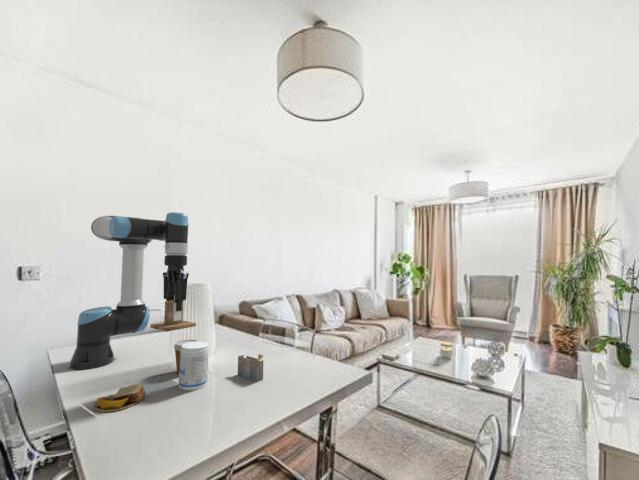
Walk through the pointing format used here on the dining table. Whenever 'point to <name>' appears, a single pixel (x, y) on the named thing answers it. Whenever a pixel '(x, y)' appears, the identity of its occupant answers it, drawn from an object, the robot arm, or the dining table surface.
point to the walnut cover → (168, 320)
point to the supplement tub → (193, 365)
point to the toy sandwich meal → (120, 399)
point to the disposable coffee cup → (177, 351)
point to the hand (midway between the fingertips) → (173, 319)
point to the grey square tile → (156, 384)
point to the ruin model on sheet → (250, 367)
